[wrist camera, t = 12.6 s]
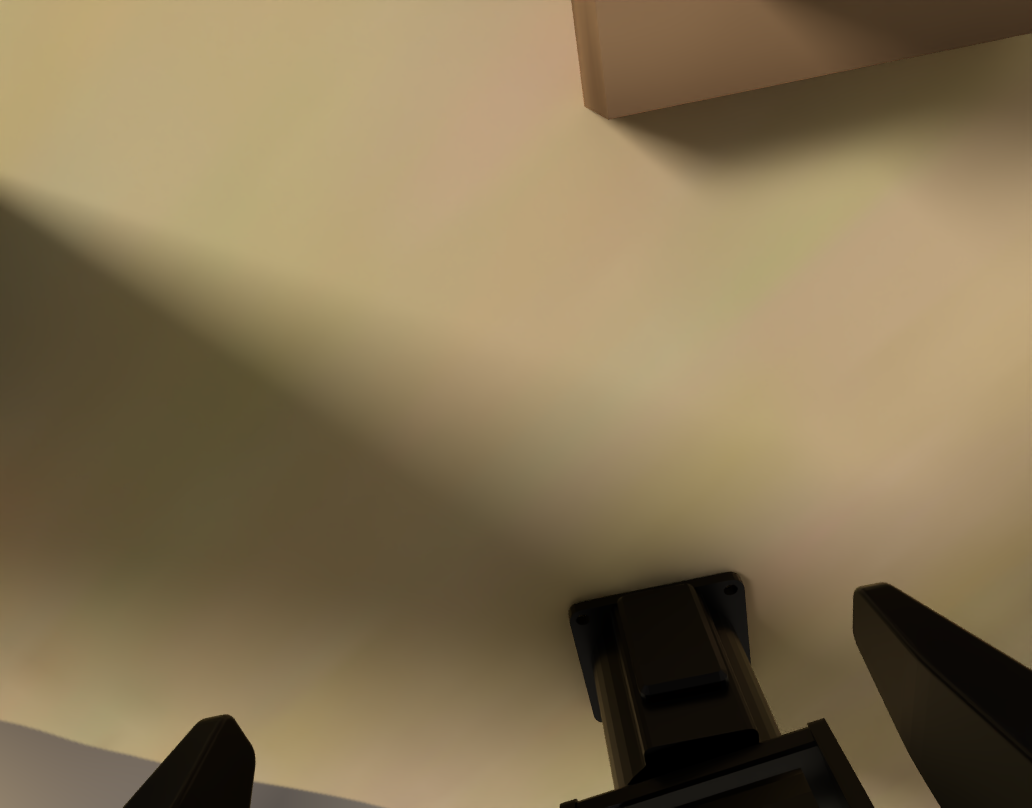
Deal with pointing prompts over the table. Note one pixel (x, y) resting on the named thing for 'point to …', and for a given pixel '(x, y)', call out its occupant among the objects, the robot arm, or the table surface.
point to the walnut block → (762, 43)
